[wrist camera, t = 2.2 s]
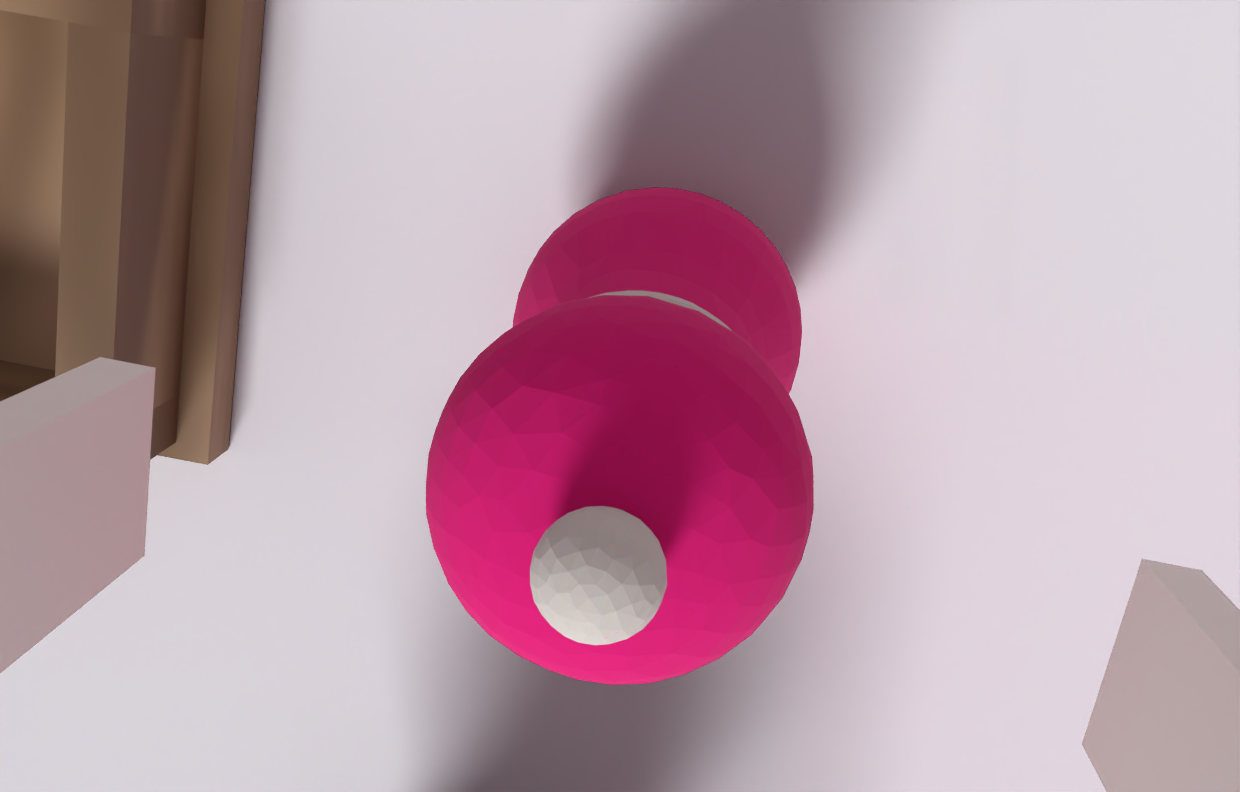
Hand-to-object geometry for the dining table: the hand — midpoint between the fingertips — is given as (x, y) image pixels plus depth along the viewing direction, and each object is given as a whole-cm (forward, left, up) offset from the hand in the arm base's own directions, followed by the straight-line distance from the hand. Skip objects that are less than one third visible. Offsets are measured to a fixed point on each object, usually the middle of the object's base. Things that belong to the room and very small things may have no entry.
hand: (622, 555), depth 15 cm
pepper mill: (0, 0, -19) cm, 19 cm away
